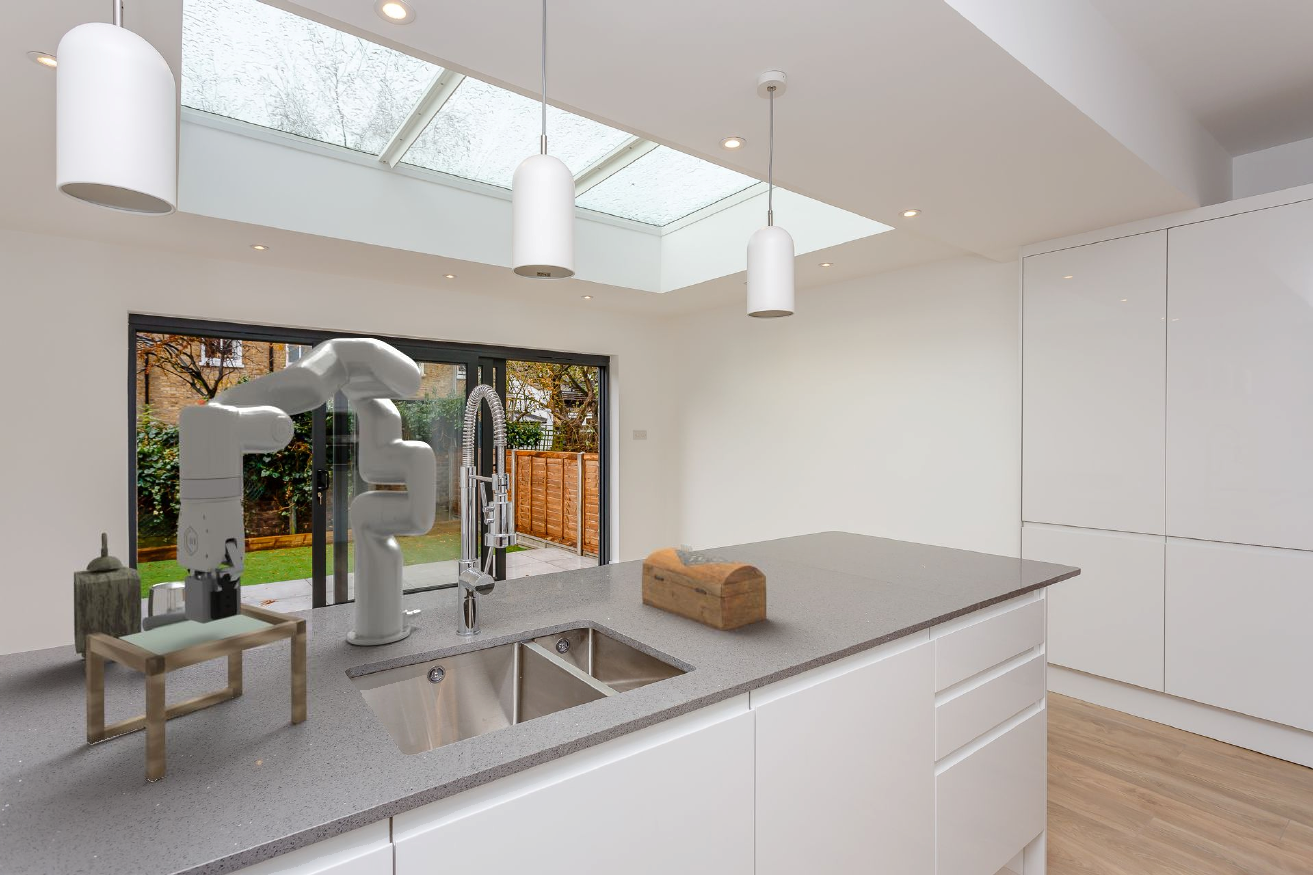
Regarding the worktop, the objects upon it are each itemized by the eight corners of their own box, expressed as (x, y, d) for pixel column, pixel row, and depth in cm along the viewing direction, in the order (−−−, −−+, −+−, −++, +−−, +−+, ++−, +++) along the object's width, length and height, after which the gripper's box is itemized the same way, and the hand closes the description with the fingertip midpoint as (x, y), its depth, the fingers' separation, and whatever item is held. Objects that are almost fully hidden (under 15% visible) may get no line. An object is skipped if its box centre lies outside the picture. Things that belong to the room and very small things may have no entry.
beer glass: (140, 671, 117) (139, 590, 116) (159, 658, 123) (158, 581, 123) (184, 667, 118) (183, 588, 118) (200, 654, 125) (199, 579, 125)
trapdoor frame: (237, 692, 107) (237, 601, 107) (306, 719, 97) (306, 619, 97) (86, 743, 90) (85, 634, 90) (151, 782, 80) (150, 660, 80)
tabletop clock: (74, 658, 123) (73, 531, 123) (134, 647, 130) (133, 526, 129) (77, 679, 113) (76, 540, 113) (142, 665, 119) (141, 534, 119)
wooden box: (770, 619, 150) (771, 561, 150) (720, 632, 140) (720, 570, 140) (689, 593, 174) (689, 543, 174) (640, 603, 164) (640, 550, 164)
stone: (223, 609, 95) (222, 569, 95) (241, 614, 93) (240, 573, 92) (185, 618, 91) (184, 576, 91) (202, 623, 88) (202, 581, 88)
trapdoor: (222, 614, 105) (222, 599, 105) (280, 633, 96) (280, 617, 96) (108, 640, 92) (109, 623, 92) (164, 665, 83) (164, 647, 83)
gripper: (154, 489, 92) (156, 612, 93) (213, 495, 84) (215, 631, 84) (211, 485, 99) (212, 599, 99) (271, 490, 90) (273, 616, 91)
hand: (213, 612), depth 92 cm, fingers closed on stone, 5 cm apart
